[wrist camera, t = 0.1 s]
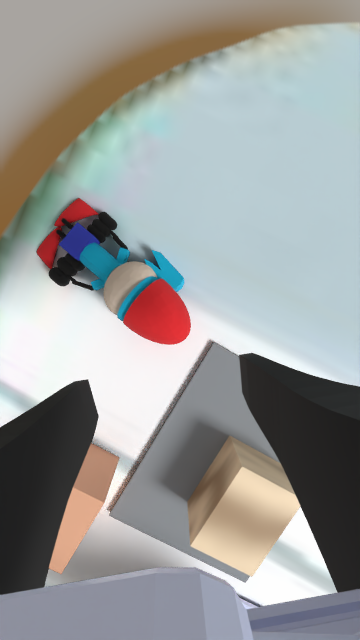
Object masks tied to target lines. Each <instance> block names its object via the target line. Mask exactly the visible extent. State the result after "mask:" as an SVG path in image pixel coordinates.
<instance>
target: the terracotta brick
mask: <svg viewBox="0 0 360 640" xmlns="http://www.w3.org/2000/svg"><path fill="white" fill-rule="evenodd" d="M118 461H119V457H117V456H115V455H113V454H111V453H109V452H108V451H106V450H104V449H102V448H100V447H98V446H96V445H94V444H92V443H91V444H90V447H89V449H88V452H87V454H86V457H85V459H84V462H83V464H82V467H81V469H80V471H79V474H78V476H77V479H76V481H75V484H74V486H73V489H72V491H71V494H70V497H69V500H68V503H67V506H66V509H65V513H64V516H63V519H62V522H61V526H60V529H59V533H58V536H57V540H56V543H55V547H54V551H53V554H52V558H51V561H50V565H49V569H51V570H53V571H56V572H58V573H60V574H62V572H63V570H64V569H65V567H66V565H67V564H68V562H69V560H70V559H71V557H72V556H73V554H74V552H75V551H76V549H77V547H78V546H79V544H80V542H81V541H82V539H83V537H84V536H85V534H86V532H87V531H88V529H89V527H90V526H91V524H92V522H93V521H94V519H95V517H96V516H97V514H98V512H99V511H100V509H101V507H102V506H103V504H104V502H105V499H106V496H107V493H108V490H109V487H110V484H111V481H112V478H113V475H114V473H115V470H116V467H117V464H118Z"/></svg>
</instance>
